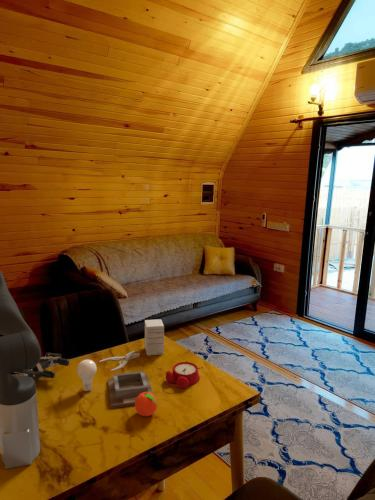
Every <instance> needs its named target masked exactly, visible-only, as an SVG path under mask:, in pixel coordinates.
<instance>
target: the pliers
mask: <svg viewBox="0 0 375 500" xmlns="http://www.w3.org/2000/svg"><path fill="white" fill-rule="evenodd" d="M140 355H141V354H140V352H138V353H137V351H136V350H133V351H130V352H128V353H126V354H125V356H123V355H122V356H112V357H111V356H110V357H107V358H104V359H101V360H99V361H98V363H102V362H106V361H114V362H115V361H117V362H118V363H119V365H118V366H116V367H115V368H112V369H111V370H110V372H114V371H117V370H120V369H122V368H123V367H125V366H126V365H127V364H128V362H129V361H130V360H133V359H137V358H140ZM123 359H124V360H123ZM122 360H123V361H122Z"/></svg>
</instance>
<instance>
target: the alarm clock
mask: <svg viewBox="0 0 375 500" xmlns="http://www.w3.org/2000/svg"><path fill="white" fill-rule="evenodd" d="M203 368H204V367H203V366H201V367H198V366H197V364H195V363H193V362H191V361H187V360H186V361H181V362H177V363H176V364H174V365H173V367H172V371H171V370H168V371H166V372H165V383H166V384H167V385H170V386H172V387H176V386H177V387H179V388H180V389H186V388H188V386H192V385H195V384H197V383H198V382H199V381H200V377H201V376H200V374H199V370H200V369H203ZM173 383H174V384H173Z"/></svg>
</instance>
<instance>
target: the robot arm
mask: <svg viewBox="0 0 375 500" xmlns="http://www.w3.org/2000/svg"><path fill="white" fill-rule="evenodd" d="M0 335H2V336H0V455H1V461H2V463H3V464H4V468H5V470H6V469H12V468H13V469H14V468H18V467H22V466H23V467H25V466H29V465H32V464H33V461H34V460H35V459H36V458H37V457H39V454H40V452H41V441H40V439H41V438H40V430H39V429H40V428H39V427H40V426H39V414H38V413H39V412H38V399H37V398H38V397H37V385H36V381H39V379H43V378H47V379H54V378H55V377H56V373H55V371H54V370H46V369H48V368H52V367H54V366H57V365H58V366H59V365H60V366H66V367H68V366H69V365H70V360H69V358H62V353H53V352H46V353H45V356H42V350H41V346H40V343H39V342H40V341H39V339H38V338H37V336H36V334H35V332H34V331H33V330H32V329H31V328H30V326H29V325H28V324H27V322H26V321H25V320H24V317H23V316H22V313H21V312H20V309H19V307H18V305H17V303H16V301H15V300H14V297H13V295H11V293H10V291H9V289H8V286H7V283H6V280H5V276H4V274H3V272H2V271H1V270H0ZM12 373H13V374H12ZM14 373H15V374H14ZM18 374H19V375H18Z"/></svg>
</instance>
